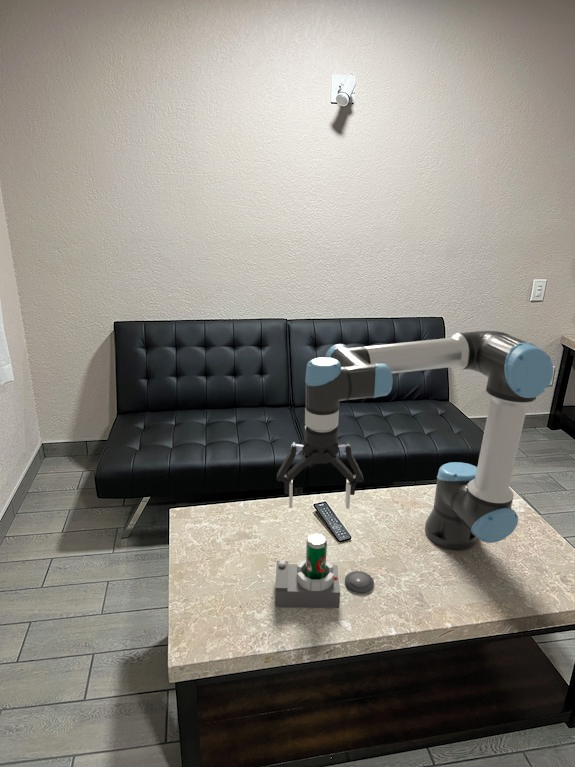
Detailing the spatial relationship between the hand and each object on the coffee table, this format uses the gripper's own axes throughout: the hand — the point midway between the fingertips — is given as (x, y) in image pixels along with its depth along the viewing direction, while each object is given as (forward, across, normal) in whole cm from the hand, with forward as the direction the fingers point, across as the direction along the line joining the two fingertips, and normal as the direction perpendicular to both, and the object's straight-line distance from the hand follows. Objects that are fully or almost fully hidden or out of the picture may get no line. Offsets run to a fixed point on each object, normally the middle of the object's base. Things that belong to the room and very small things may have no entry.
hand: (319, 505), depth 129 cm
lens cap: (+27, -12, -4) cm, 30 cm away
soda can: (+22, 0, 0) cm, 22 cm away
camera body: (+27, +2, 0) cm, 27 cm away
